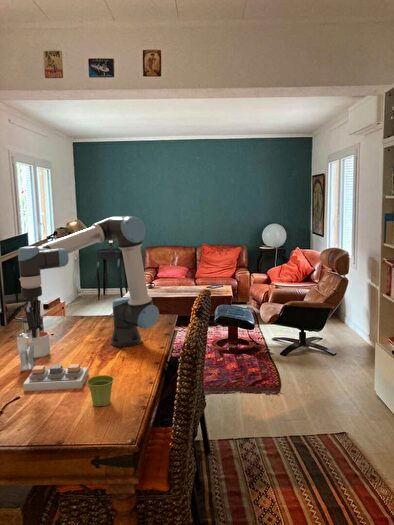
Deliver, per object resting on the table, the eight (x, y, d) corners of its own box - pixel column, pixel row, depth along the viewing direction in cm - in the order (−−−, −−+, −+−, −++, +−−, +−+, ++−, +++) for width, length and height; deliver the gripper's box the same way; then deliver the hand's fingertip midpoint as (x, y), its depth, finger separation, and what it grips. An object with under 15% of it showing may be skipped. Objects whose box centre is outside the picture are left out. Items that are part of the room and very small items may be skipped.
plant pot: (103, 395, 167) (102, 372, 165) (120, 401, 161) (119, 378, 159) (83, 404, 159) (81, 381, 158) (99, 411, 154) (98, 387, 152)
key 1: (45, 369, 181) (44, 365, 181) (42, 372, 177) (42, 369, 177) (35, 369, 181) (34, 365, 180) (32, 373, 177) (31, 369, 176)
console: (88, 374, 187) (87, 363, 187) (81, 388, 173) (80, 377, 173) (34, 376, 186) (34, 366, 185) (23, 391, 172) (22, 380, 172)
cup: (43, 359, 207) (41, 338, 205) (23, 358, 209) (21, 337, 207) (54, 351, 216) (52, 332, 215) (35, 351, 218) (33, 331, 217)
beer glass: (20, 372, 191) (17, 338, 189) (18, 367, 197) (15, 334, 195) (37, 369, 194) (34, 336, 192) (35, 364, 200) (32, 332, 198)
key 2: (80, 367, 181) (79, 363, 181) (78, 371, 178) (77, 367, 177) (70, 367, 181) (69, 364, 181) (67, 371, 177) (67, 367, 177)
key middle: (62, 368, 181) (62, 364, 181) (60, 372, 177) (59, 368, 177) (52, 368, 181) (52, 364, 181) (50, 372, 177) (49, 368, 177)
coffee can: (44, 340, 234) (42, 314, 232) (45, 346, 225) (43, 319, 223) (24, 343, 231) (21, 316, 229) (23, 349, 221) (21, 321, 219)
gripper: (26, 283, 180) (31, 339, 183) (15, 290, 167) (21, 350, 170) (45, 282, 180) (50, 339, 184) (36, 289, 167) (41, 349, 171)
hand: (36, 344), depth 177 cm, fingers closed
